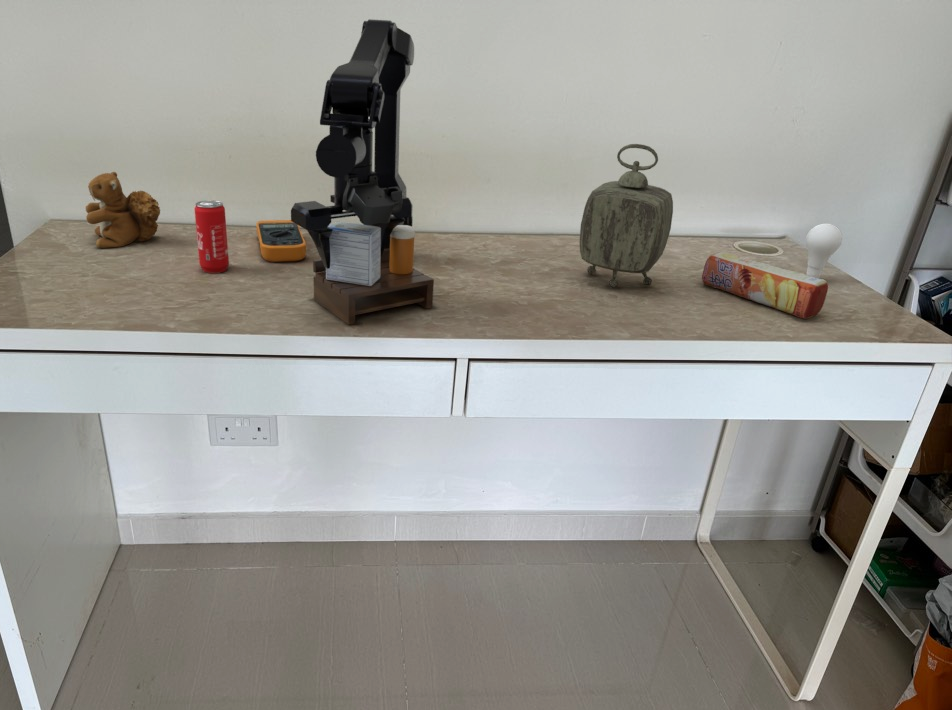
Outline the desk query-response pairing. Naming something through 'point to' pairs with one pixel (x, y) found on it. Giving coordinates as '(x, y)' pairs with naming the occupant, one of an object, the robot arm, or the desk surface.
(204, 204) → the red soda can
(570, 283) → the desk surface
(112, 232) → the stuffed squirrel
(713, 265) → the snack package
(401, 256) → the pill bottle
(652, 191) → the tabletop clock
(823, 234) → the lightbulb
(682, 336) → the desk surface
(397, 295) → the rack
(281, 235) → the multimeter
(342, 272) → the medicine box
